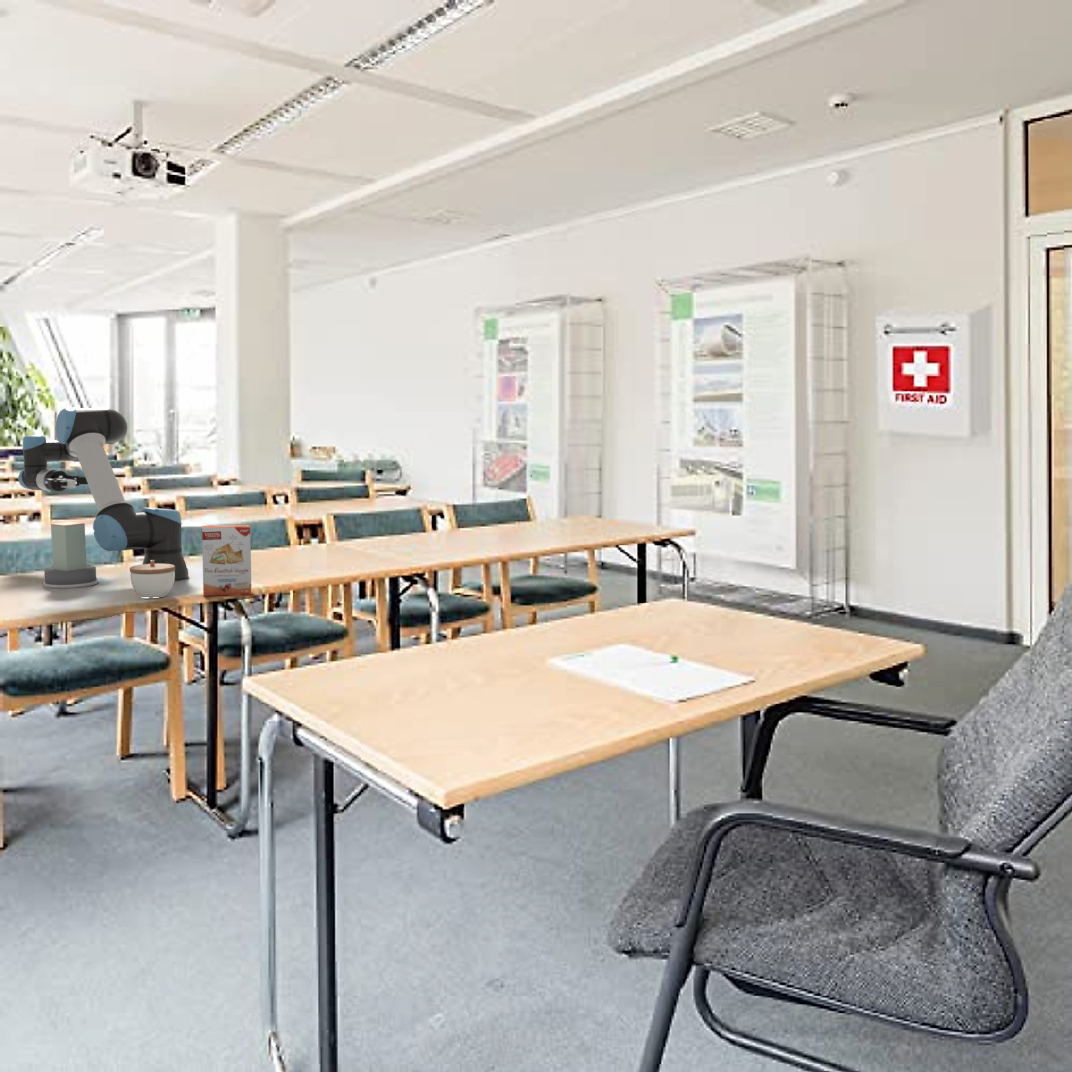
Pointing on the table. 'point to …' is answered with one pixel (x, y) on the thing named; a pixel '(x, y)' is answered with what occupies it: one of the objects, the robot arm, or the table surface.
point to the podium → (70, 578)
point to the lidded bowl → (152, 579)
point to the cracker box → (226, 560)
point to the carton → (68, 546)
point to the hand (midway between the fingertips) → (92, 483)
